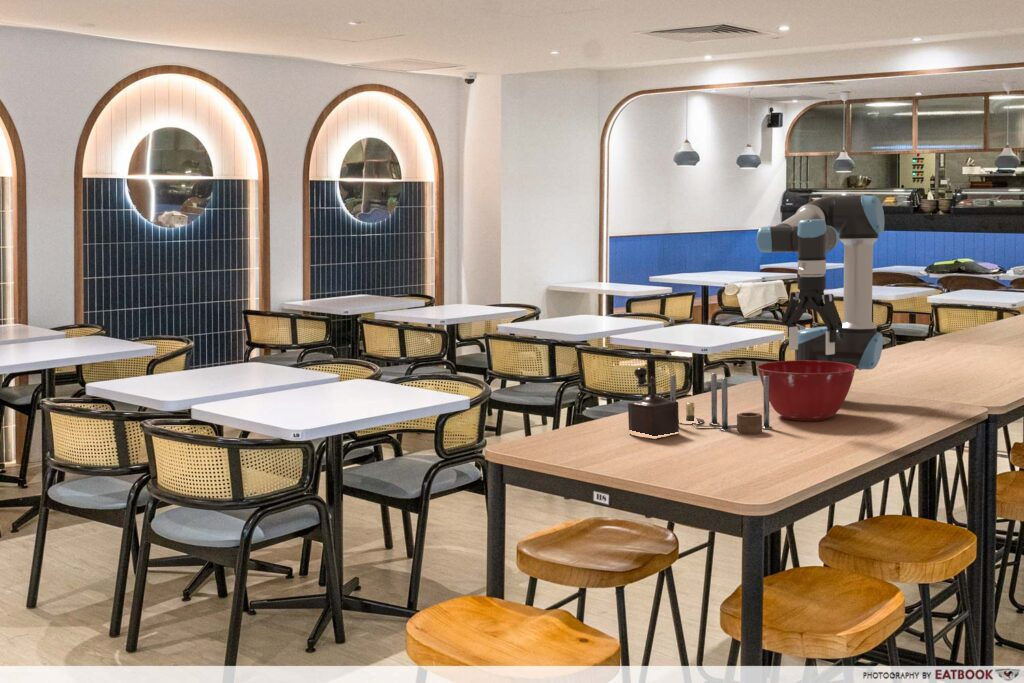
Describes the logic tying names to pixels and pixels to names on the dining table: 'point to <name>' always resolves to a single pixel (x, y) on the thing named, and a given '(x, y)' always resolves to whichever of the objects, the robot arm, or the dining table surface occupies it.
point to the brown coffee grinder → (652, 411)
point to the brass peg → (691, 412)
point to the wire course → (725, 401)
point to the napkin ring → (749, 423)
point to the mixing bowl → (807, 387)
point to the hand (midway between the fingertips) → (811, 352)
